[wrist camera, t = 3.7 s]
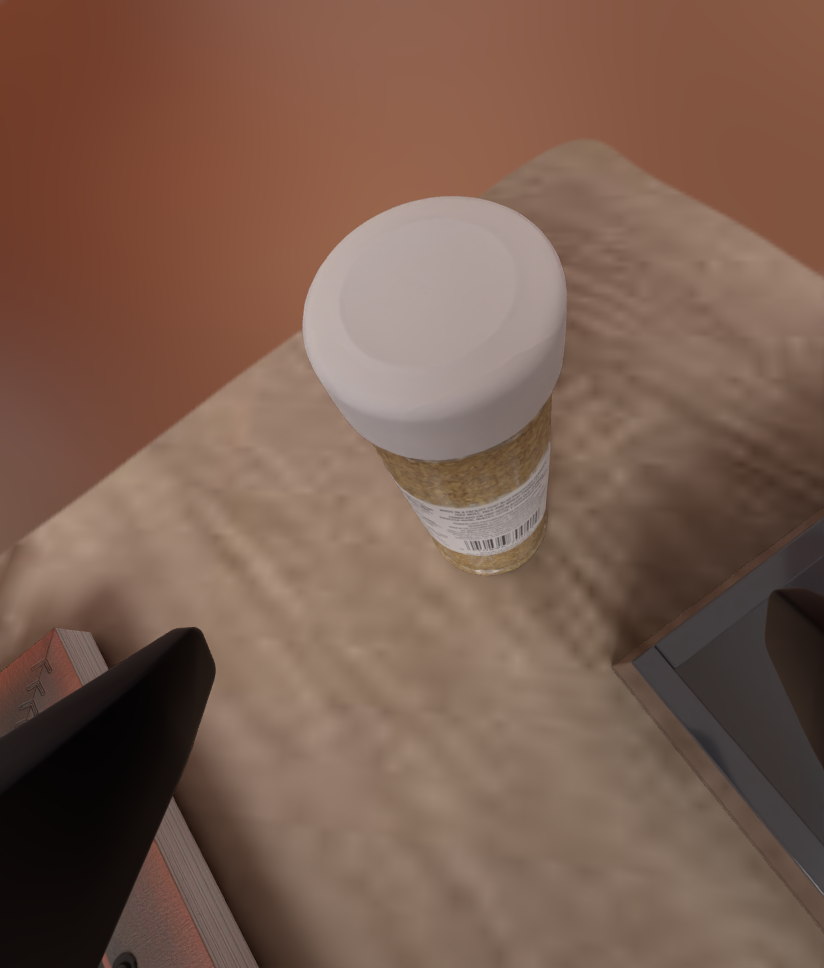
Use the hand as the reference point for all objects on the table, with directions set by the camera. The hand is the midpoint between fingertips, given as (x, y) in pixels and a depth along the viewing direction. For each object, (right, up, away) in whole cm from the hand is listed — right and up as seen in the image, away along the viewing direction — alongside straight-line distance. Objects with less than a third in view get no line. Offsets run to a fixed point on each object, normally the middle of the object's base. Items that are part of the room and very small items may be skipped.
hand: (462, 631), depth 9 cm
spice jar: (+2, +1, +13) cm, 13 cm away
